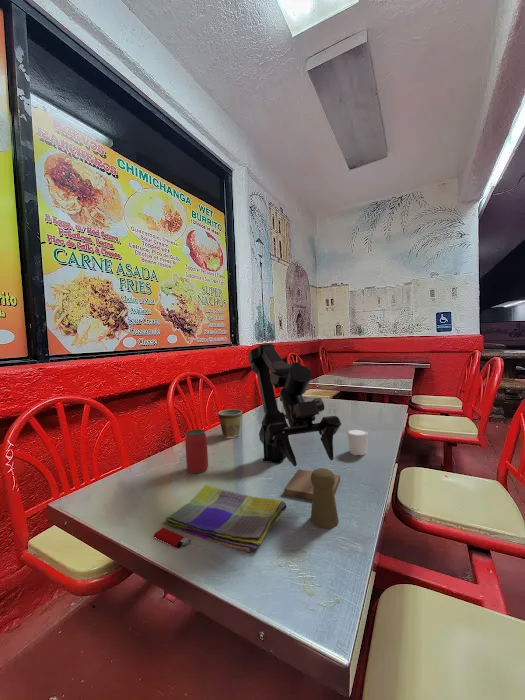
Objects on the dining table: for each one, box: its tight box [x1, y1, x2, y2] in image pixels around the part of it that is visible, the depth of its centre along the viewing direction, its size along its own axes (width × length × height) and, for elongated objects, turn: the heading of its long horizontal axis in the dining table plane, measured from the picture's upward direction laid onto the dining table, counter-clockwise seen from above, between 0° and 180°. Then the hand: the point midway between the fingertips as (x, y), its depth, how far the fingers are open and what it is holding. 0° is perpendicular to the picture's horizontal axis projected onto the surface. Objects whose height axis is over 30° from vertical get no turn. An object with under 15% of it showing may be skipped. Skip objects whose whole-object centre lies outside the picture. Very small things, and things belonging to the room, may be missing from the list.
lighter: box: [153, 527, 192, 549], centre depth 62 cm, size 3×1×8 cm
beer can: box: [184, 428, 209, 474], centre depth 95 cm, size 7×7×12 cm
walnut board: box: [283, 468, 341, 501], centre depth 80 cm, size 12×12×2 cm
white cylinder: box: [346, 428, 369, 456], centre depth 102 cm, size 7×7×7 cm
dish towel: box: [162, 483, 288, 553], centre depth 69 cm, size 18×24×3 cm
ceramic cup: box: [217, 408, 243, 438], centre depth 128 cm, size 13×10×10 cm
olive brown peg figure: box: [310, 467, 339, 530], centre depth 66 cm, size 6×6×11 cm
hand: (314, 462), depth 70 cm, fingers open, 9 cm apart
